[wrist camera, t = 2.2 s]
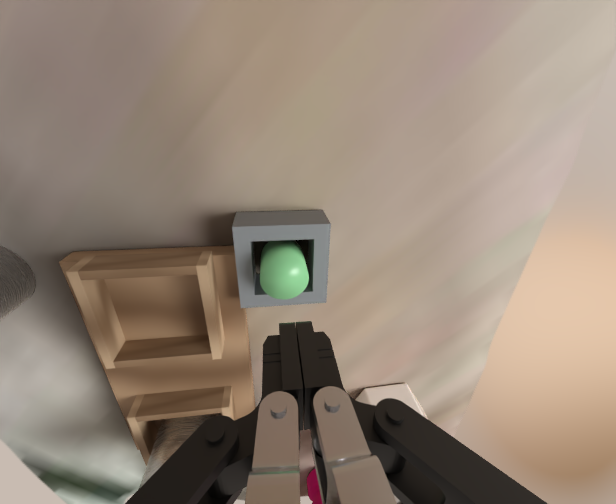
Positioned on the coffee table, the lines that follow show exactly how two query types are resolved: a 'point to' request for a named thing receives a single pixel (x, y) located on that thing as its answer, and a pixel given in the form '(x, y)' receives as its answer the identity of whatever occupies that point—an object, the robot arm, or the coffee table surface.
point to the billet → (14, 281)
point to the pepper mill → (313, 488)
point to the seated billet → (171, 440)
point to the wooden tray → (166, 332)
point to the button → (283, 269)
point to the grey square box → (274, 229)
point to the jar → (395, 392)
